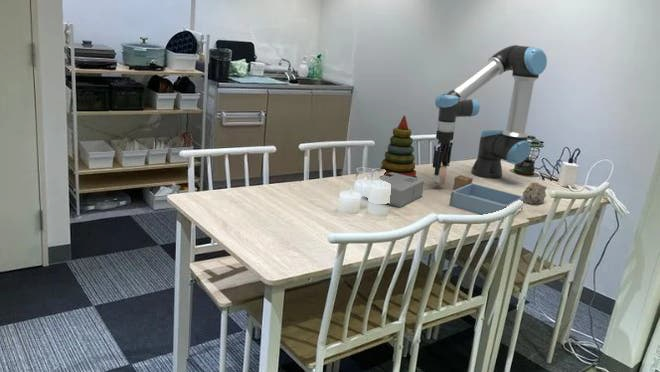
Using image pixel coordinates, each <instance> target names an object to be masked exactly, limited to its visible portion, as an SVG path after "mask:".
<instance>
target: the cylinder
mask: <svg viewBox="0 0 660 372" xmlns="http://www.w3.org/2000/svg"><path fill="white" fill-rule="evenodd" d="M440 168H441V175H440V182H439V183H438V182H434V181H433V184H434V185H437V186H444V185H445V184H446V183H445V182H446V177H445V176H447V169H446V168H448V166H447V167H446V166H443V165H442V164H441V167H440Z"/></svg>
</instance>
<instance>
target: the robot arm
mask: <svg viewBox="0 0 660 372" xmlns="http://www.w3.org/2000/svg"><path fill="white" fill-rule="evenodd" d="M547 64H548V59H547V55H546V53H545V51H544V50H543V49H541V48H538V47H534V46H524V45H509V46H507V47H505V48H502V49H501V50H499V51H498V52H496V53H494V54H493V55H492V56H491V57H489V58H488V60H487V62H486V63H484V65H482V66H481V67H479V68H478V69H477V70H476V71H475V72H473V73H472V74H470V75H469V76H468V77H467V78H465V79H464V80H463V81H462V82H460V83H459V84H458V85H457V86H455V87H453V88H452V89H451V90H450V91H448V92H447V93H440V94H438V95H437V96H436V98H435V101H434V104H435V107H436V108H437V109H438V119H437V122H436V124H437V127H436V129H437V130H436V134H435V138H436V139H437V140H438V141H437V145H434V146H433V147H434V148H433V149H434V150H433V158H432V160H433V161H432V168H434V172H433V173H434V174H433V182H438V183H439V182H440V175H441V168H440V167H441V165H443V166H446V167H447V168H448V167H450V163H451V158H452V157H451V156H452V150H453V149H452V148H453V145H454V143H453V142H451V141H453V140H454V137H455V136H454V135H455V130H456V129H455V128H456V120H457V118H459V117H461V118H462V117H464V118H465V117H469V118H471V117H474V116H477V115H479V113H480V107H481V106H480V102H479V101H478V100H477V99H473V98H470V99H469V97H471V96H472V95H473V94H474V93H476V92H477V91H479V89H481V88H482V87H484V86H485V85H486V84H488V83H489V82H490V81H491V80H492V79H493V78H495V77H497V76H498V75H499V76H501V75H502V74H503V73H505V72H508V71H512V74H511V76H512V77H513V79H514V81H513V82H514V83H513V88H512V93H511V100H510V106H509V112H508V118H507V124H506V129H505V130H502V129H501V130H499V129H484V130H482V132H481V135H480V140H479V145H478V151H477V158H476V160H475V162H474V163H473V166H472V168H471V173H472V174H473V175H475V176H477V177H481V178H487V179H500V178H502V177H503V167H502V160H503V161H506V162H508V163H513V164H521V163H523V162H525V160H526V159H527V158H528V157H529V155H530V152H531V149H532V148H531V144H530V142H529V141H527V140H528V134H527V133H526V127H527V122H528V117H529V111H530V110H529V109H530V106H531V105H530V104H531V100H532V95H533V91H534V90H533V89H534V83H535V82H536V80H538V79H539V75H541V74H542V73H544V71H545V70H546V68H547ZM447 168H446V170H447ZM446 176H447V175H446ZM446 176H445V178H446Z"/></svg>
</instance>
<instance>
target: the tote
mask: <svg viewBox="0 0 660 372" xmlns="http://www.w3.org/2000/svg"><path fill="white" fill-rule="evenodd" d="M518 200H521V201H523V203H524V197H523V195H518V194H516V193H511V192H508V191H503V190H501V189H500V190H499V189H496V188H492V187H488V186H485V185H481V184H476V183H474V182H472V183H471V184H469V185H466V186H464V187H461V188H459V189H457V190H452V191H451V193H450V199H449V206H451V207H456V208H459V209H463V210H465V211H469V212H472V213H476V214H478V215H482V214H488V213H493V212H496V211H499V210H502V209H504V208H506V207H507V206H509V205H510V204H512V203H513V202H515V201H518ZM521 209H522V210H523V207H522V208H521Z"/></svg>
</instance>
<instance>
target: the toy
mask: <svg viewBox="0 0 660 372" xmlns="http://www.w3.org/2000/svg"><path fill="white" fill-rule="evenodd" d="M411 135H412V129H411V128H409V126H408V122H407V118H406V115H403V116H402V118H401V121H400V122H399V124H398V126H397V127H394V128H393V129H392V136H390V139H389V143H388V145H387V151H385V153H384V157H385V158H384V159H383V160H382V161H381V166H380V168H379V170H380V169H385V170H386V172H385V173H384V175H386V174H388V173H391V172H393V173H398V174H402V175H406V176H410V177H414V178H418V177H417V171H416V170H415V169H416V164H415V162H414V161H415V159H416V158H415V155H414V154H413V153H414V151H415V148H414V146H412V145H413V142H414V140H413V137H411ZM418 179H419V178H418Z"/></svg>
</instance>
